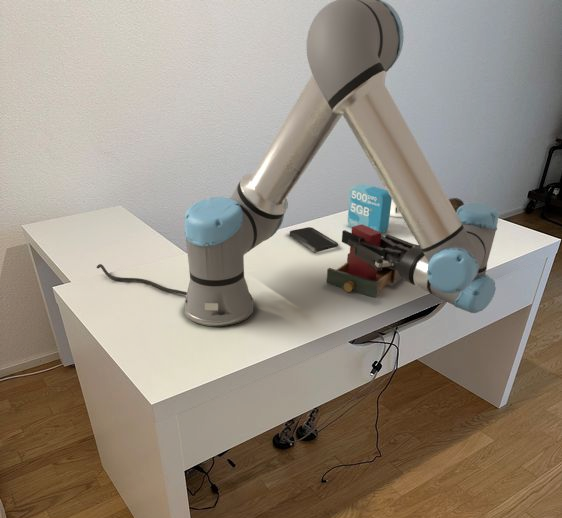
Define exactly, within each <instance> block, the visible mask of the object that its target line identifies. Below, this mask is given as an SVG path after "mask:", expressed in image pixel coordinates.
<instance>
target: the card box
mask: <svg viewBox="0 0 562 518" xmlns="http://www.w3.org/2000/svg"><path fill="white" fill-rule="evenodd" d="M350 233H352V234H354V235H356V236H358V237H361V238H363V239H364V242H367V243H370V244H373V245H375V246H378V247H380V242H381V236H382V233H381V232H379V231H376V230H374V229H372V228H370V227H367V226H365V225H363V224H361V225H357V226H354V227H351V232H350ZM349 253H350V255H349V266H348V273H349V274H353V275H356V276H360V277H363V278H367V279H370V280H373V281H376V274H377V270H376V269H375V268H374V266H372V265H370V264H368V263H367V262H365V261H363V260H362V259H360V258H358V257H356V256H355V255H354V248H353V247H351V246H349Z"/></svg>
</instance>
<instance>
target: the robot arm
mask: <svg viewBox="0 0 562 518" xmlns="http://www.w3.org/2000/svg"><path fill="white" fill-rule="evenodd" d="M402 23H403V22H402V20H401V18H400V15H399V13H398V12H397V11H396V9H395V8H394V7H393V6H392V5H390V3H388V2H386V1H384V0H333V1H330V2H329V3H328V4H326V5H324V7H322V8H321V9H320V10H319V11H318V12H317V14H315V16H314V18H313V19H312V22H311V24H310V25H309V29H308V32H307V37H306V58H307V62H308V66H309V68H310V71H311V75H310V77H309V78H308V80H307V82H306V84H305V85H304V87H303V89H302V91H301V93H300V94H299V95H298V97H297V99H296V101H295V103H294V104H293V105H292V107H291V109H290V111H289V112H288V114H287V116H286V117H285V119H284V121H283V123H282V124H281V126H280V128H278V131H277V132H276V134H275V136H274V138H273V139H272V141H271V143H270V144H269V146H268V147H267V149H266V151H265V153H264V155H263V156H262V158H261V159H260V161H259V163H258V165H257V166H256V168H255V170H254V171H253V173H248V174H245V175H244V176H242V177H241V179H240V180H239V182H238V184H237V186H236V187H235V189H234V190H233V192H232V194H231V196H230V197H226V196H224V197H223V196H215V197H209V199H206V198H204V199H200V200H198V201H196V202H195V203H193V204H191V205H190V206H189V208H188V209H186V212H185V215H184V228H183V230H184V236H185V242H186V250H187V251H186V253H187V260H188V271H189V282H188V286H187V291H184V290H178V289H173V288H169V287H165V286H163V285H160V284H158V283H156V282H153V281H151V280H149V279H144V278H139V277H120V276H115V275H112V274H110V273H109V271H107V269H106V267H105V266H104V265H103V264H102V263H99V264H98V265H96V269H100V268H101V271H102V272H103V273H104V274H105V275H106V277H108V278H109V279H111V280H114V281H120V282H123V281H124V282H138V283H144V284H148V285H151V286H152V287H155V288H157V289H160V290H162V291H165V292H170V293H174V294H179V295H183V296H185V299H184V313H185V316H186V317H187V318H188V319H189V320H190V321H192V322H193V323H196V324H199V325H202V326H207V327H227V326H232V325H236V324H238V323H241V322H243V321H246V320H247V319H249V317H251V316H252V314H253V312H254V299H253V297H252V294H251V292H250V290H249V287H248V283H247V280H246V278H245V261H244V259H245V258H244V257H245V255H246V254H247V253H249V252H250V251H251V250H253V249H254V248H257V247H258V246H259V245H260V244H261V243H263V242H265V241H267V240H269V239H270V238H272V237H273V236H274V235H275V234H276V233H277V232H278V231H279V229H280V228H281V226H282V224H283V221H284V217H285V213H286V212H287V210H288V207H289V202H288V199H287V198H288V197H289V195H290V193H291V192H292V190H293V189H294V188H295V186H296V184H298V181H299V180H300V178H301V177H302V176H303V174H304V173H305V171H306V169H307V168H308V167H309V166H310V164H311V162H312V161H313V159H314V158H315V156H316V155H317V154H318V152H319V150H320V149H321V147H322V146H323V145H324V143H325V142H326V140H327V139H328V137H329V136H330V134H331V133H332V131H333V130H334V128H335V127H336V126H337V124H338V122H339V121H340V120H341V118H342V117H343V118H344V120H345V121H346V123H347V125H348V127H349V128H350V130H351V131H352V134H353V135H354V137H355V139H356V140H357V142H358V144H359V146H360V147H361V149H362V150H363V152H364V154H365V156H366V158H367V159H368V161H369V162H370V164H371V166H372V168H373V169H374V170H375V171H374V172H375V173H376V174H377V176H378V178H379V180H380V181H381V183H382V185H383V187H384V189H385V190H387V191H388V193H389V195H390V196H391V198H392V200H393V202H394V203H395V205H396V207H397V208H398V210H399V212H400V213H401V215H402V217H401V218H403V220H404V222H405V224H406V225H407V227H408V229H409V230H410V233H411V234H412V235H413V238H414V239H415V242H417V244H415V243H411V242H409V241H406V240H405V239H402V238H399V237H396V236H393V235H390V234H385V235H384V236H383V235H381V242H380V247H378V246H375V245H373V244H370V243H367V242H364V239H363V238H361V237H358V236H356V235H354V234H352V233H351V232H350V231H348V230H345V229H343V230H342V232H341V233H342V234H341V243H343V244H345V245H347V246H348V247H350V246H351V247H353V248H354V255H355V256H356V257H358V258H360V259H362V260H363V261H365V262H367V263H368V264H370V265H372V266H374V268H375V269H376V270H377V271H381V270H382V267H389V268H390V269H394V270H397V271H398V273H399V275H400V279H402V280H403V281H405V282H407V283H409V284H410V285H413V286H416V287H417V288H419V289H421V290H424V291H426V292H428V293H429V294H430V295H433V296H435V297H437V298H439V299H440V300H443V301H445V302H447V303H449V304H450V305H452V306H453V307H455V308H457V309H459V310H462V311H465V312H468V313H471V314H477V313H480V312H483V311H484V310H485V309H486V308H487V307H488V306H489V305H490V303H491V302H492V301H493V298H494V296H495V294H496V289H497V287H496V282H495V280H494V279H493V277H491V276H489V275H488V274H486V273H487V270H488V268H487V267H488V262H489V258H490V254H491V251H492V247H493V243H494V240H495V236H496V232H497V230H498V222H499V217H500V214H499V211H498V210H497V209H495V208H494V207H492V206H490V205H487V204H482V203H466V204H465V203H464V205H462V206H460V207H459V208H458V210H457V212H455V210H454V208H453V206H452V205H451V203H450V201H449V199H450V198H449V197H448V195H447V193H446V191H444V188H443V187H442V184H441V183H440V181H439V179H438V178H437V175H436V174H435V172H434V171H433V169H432V167H431V165H430V164H429V161H428V160H427V158H426V156H425V154H424V153H423V151H422V149H421V147H420V145H419V143H418V142H417V140H416V138H415V136H414V134H413V132H412V131H411V129H410V128H409V126H408V124H407V122H406V120H405V119H404V117H403V115H402V113H401V111H400V109H399V108H398V105H397V104H396V102H395V100H394V98H393V96H392V95H391V94H390V92H389V90H388V88H387V86H386V84H385V81H386V77H387V72H388V71H389V70H390V69H391V68H393V66H394V65H395V64H396V62H397V61H398V59H399V58H400V55H401V53H402V50H403V45H404V27H403V26H404V25H403V24H402ZM390 240H391V241H390Z"/></svg>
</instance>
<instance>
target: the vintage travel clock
mask: <svg viewBox="0 0 562 518" xmlns="http://www.w3.org/2000/svg"><path fill="white" fill-rule="evenodd" d="M448 199H449V201H450V203H451V205H452V206H453V208H454V210H455V212H457V210H458V208H459V207H460V206H462V205H465V203H464V201H463V200H462V199H460V198H458V197H450V198H448Z"/></svg>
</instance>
